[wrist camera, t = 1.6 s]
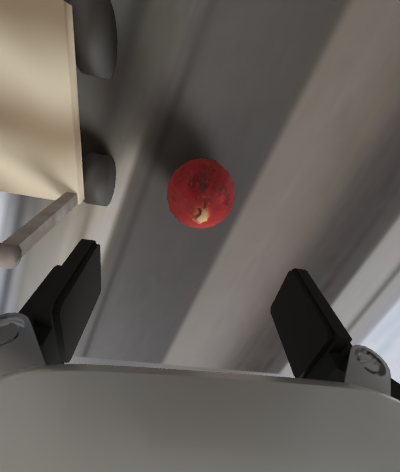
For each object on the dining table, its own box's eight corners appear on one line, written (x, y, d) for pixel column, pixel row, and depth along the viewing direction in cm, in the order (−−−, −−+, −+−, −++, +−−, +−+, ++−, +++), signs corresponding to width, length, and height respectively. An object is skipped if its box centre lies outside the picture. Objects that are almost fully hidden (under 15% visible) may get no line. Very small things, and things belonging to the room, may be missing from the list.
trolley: (-32, -33, 15) (-704, -395, 4) (117, 7, 17) (-62, -183, 5) (14, 177, 23) (-169, 267, 11) (115, 195, 24) (41, 292, 12)
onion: (175, 143, 21) (166, 168, 15) (236, 156, 22) (254, 185, 15) (167, 201, 24) (156, 244, 18) (221, 210, 25) (230, 255, 18)
